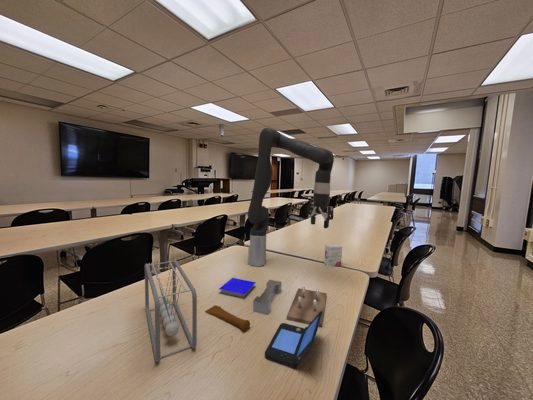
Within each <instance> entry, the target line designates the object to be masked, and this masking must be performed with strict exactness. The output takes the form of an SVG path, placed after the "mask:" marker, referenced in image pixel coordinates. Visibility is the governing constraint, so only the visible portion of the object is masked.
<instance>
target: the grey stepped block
mask: <svg viewBox="0 0 533 400" xmlns="http://www.w3.org/2000/svg"><path fill="white" fill-rule="evenodd" d="M281 291H282V281H280V280H274V279H268V281H267V282H266V288H265V289H264V290H263V292H262V293H261V295H260V296H258V295H257V296H256V297H255V298H254V299H253V301H252V302H253V304H252V312H255V313H259V314H264V315H268V314H269V312H270V311H271V304H272V301H273V299H274V298H275V296H276V295H280V293H281ZM275 294H276V295H275Z"/></svg>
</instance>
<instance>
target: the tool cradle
mask: <svg viewBox="0 0 533 400" xmlns="http://www.w3.org/2000/svg"><path fill="white" fill-rule="evenodd" d="M326 302H327V293H326V292H321V291H320V290H319V289H316V290H312V289H311V290H310V289H306V288H305V287H304V286H303V287H301V288H297V291H296V293H295V296H294V298H293V301H292V303H291V305H290V308H289V310H288V312H287V314H286V320H288V321H293V322H297V323H301V324H306V325H309V324H310V323H311V322H312V321H313V320H314V318H315V317H316V316H317V315H318V314H319V312H320V311H322V316H321V320H320V323H319V326H318V328H323V321H324V314H325V306H326Z"/></svg>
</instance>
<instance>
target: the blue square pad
mask: <svg viewBox="0 0 533 400" xmlns="http://www.w3.org/2000/svg"><path fill="white" fill-rule="evenodd" d="M256 283H257V282H256V281H252V280H251V281H250V280H246V279H241V278H238V277H237V278H235V277H231V278H229V280H228V281H226V282H225V283H224V284H223V285H222V286H220V287H219V288H218V290H221V292H220V293H221V294H225V295H229V296H233V297H238V298H243V299H244V298H245V297H246V296H247V295H248V294H249V293H250V291H252V290H253V288H254V286H255V284H256Z"/></svg>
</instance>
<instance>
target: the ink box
mask: <svg viewBox="0 0 533 400" xmlns="http://www.w3.org/2000/svg"><path fill="white" fill-rule="evenodd" d="M342 255H343V246H342V245H340V244H338V243H337V244H336V243H334V244H333V243H331V244H324V259H323V262H324V263H323V264H324V265H325V264H326V265H328V266H333V267H341V266H342V257H343V256H342ZM326 265H325V266H326Z"/></svg>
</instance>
